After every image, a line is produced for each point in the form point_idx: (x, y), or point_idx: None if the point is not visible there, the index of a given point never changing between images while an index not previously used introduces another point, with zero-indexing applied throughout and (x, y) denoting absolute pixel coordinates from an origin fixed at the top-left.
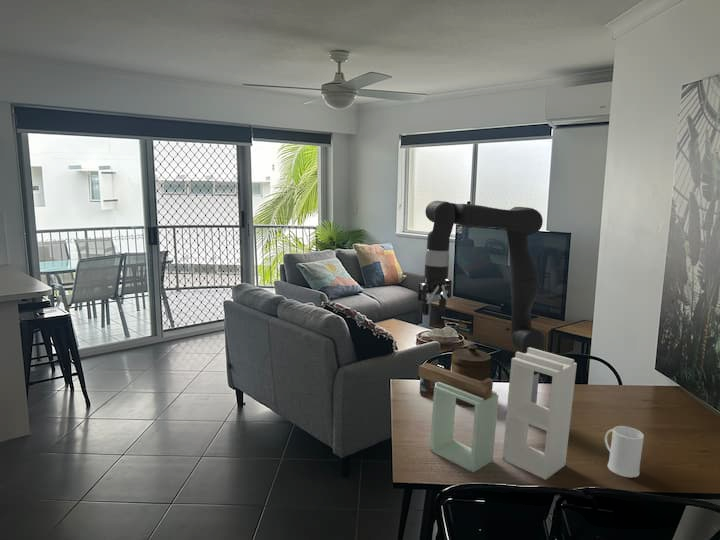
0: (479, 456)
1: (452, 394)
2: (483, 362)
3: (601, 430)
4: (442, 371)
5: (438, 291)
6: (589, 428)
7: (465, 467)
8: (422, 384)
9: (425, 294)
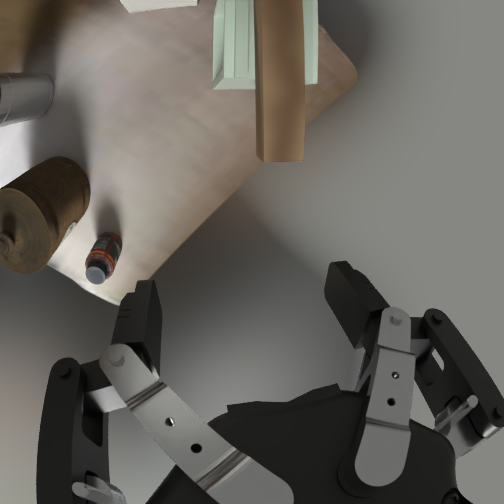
0: None
1: (316, 29)
2: (14, 186)
3: (3, 21)
4: (287, 83)
5: (286, 433)
6: (6, 29)
7: None
8: (117, 255)
9: (463, 357)
